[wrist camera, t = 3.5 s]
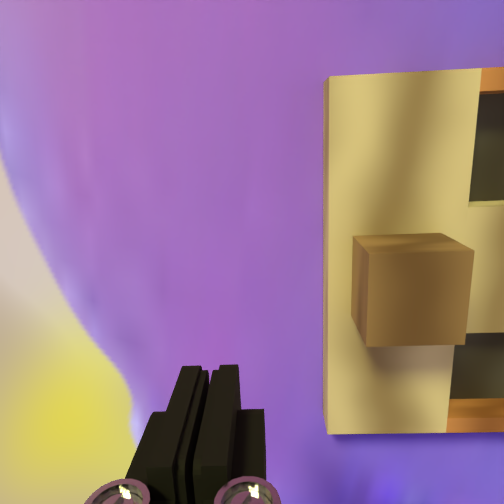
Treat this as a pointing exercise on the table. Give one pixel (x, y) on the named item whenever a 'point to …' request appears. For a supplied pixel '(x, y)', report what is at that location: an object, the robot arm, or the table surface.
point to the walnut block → (410, 289)
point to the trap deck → (413, 222)
